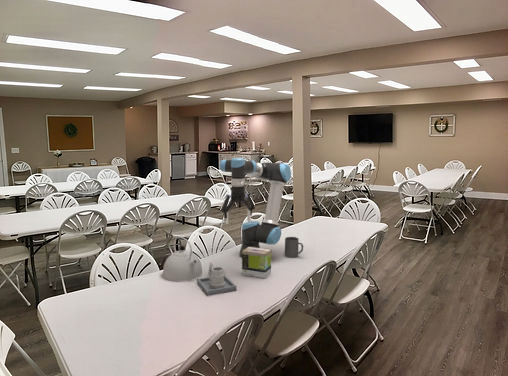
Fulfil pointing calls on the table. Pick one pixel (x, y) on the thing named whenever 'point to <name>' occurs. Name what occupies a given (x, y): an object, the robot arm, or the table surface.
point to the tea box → (256, 262)
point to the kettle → (182, 265)
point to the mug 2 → (292, 247)
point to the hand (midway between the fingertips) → (238, 222)
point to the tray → (207, 288)
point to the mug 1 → (216, 276)
